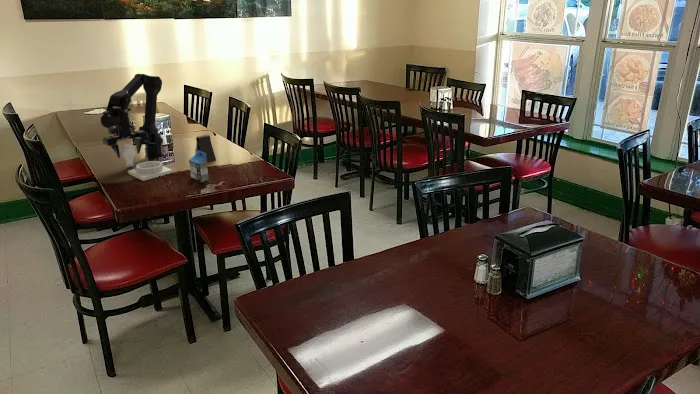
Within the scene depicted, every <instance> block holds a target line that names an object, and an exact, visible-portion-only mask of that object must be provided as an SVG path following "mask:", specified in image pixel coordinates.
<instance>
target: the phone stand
mask: <svg viewBox="0 0 700 394" xmlns="http://www.w3.org/2000/svg"><path fill="white" fill-rule="evenodd" d="M195 140H196V146H195V149H196V150H199V151H202V152H204V153H206V160H207V163H210V162H213V161H217V158H216V155H215V151H214V147H213V144H212V140H211V135H210V134H204V135H198V136H196V138H195ZM199 154H200V155H202V154H201V153H199Z"/></svg>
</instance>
